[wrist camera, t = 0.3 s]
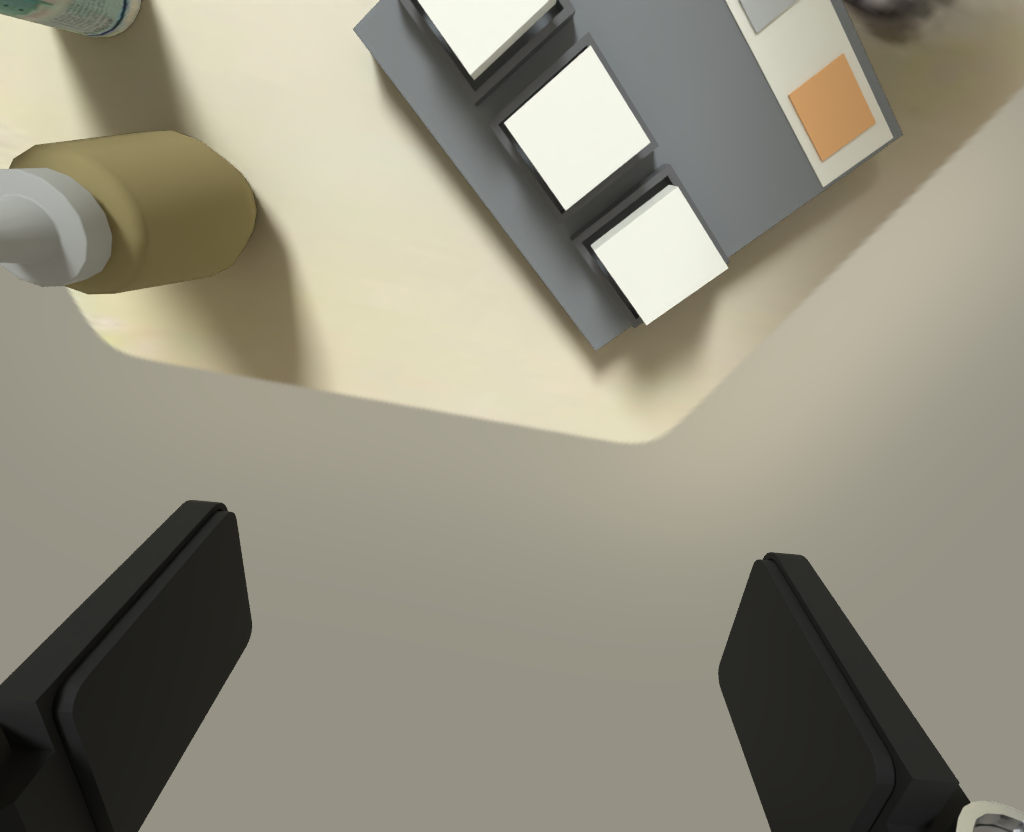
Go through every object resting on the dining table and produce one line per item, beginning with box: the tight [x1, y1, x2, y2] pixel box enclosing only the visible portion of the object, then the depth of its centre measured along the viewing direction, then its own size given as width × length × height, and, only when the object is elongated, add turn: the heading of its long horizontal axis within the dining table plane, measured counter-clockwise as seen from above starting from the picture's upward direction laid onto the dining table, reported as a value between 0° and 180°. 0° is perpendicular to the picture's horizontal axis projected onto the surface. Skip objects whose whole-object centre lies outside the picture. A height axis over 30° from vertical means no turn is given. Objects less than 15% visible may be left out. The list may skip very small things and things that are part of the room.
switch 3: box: [591, 185, 728, 325], centre depth 30 cm, size 5×5×2 cm
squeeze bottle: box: [0, 130, 257, 294], centre depth 28 cm, size 8×8×18 cm
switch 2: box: [504, 45, 650, 210], centre depth 28 cm, size 5×5×2 cm
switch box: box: [353, 0, 903, 351], centre depth 30 cm, size 20×22×5 cm
